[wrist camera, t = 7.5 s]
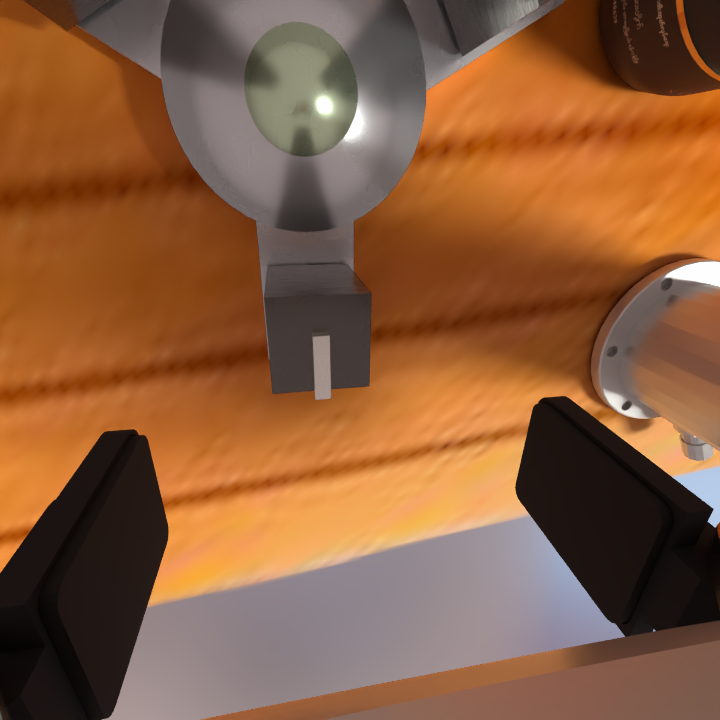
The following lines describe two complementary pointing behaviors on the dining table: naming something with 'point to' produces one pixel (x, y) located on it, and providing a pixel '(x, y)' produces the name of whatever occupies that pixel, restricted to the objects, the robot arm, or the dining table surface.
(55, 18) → the knob
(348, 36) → the tribrach base
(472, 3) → the knob
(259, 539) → the dining table surface
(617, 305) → the robot arm
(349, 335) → the knob
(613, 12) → the jar
